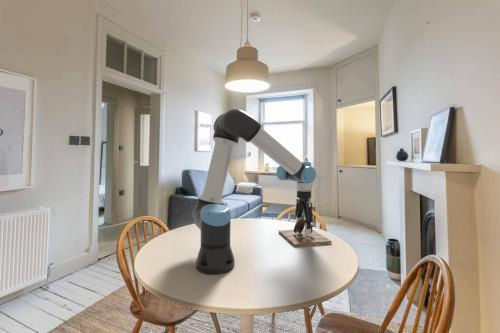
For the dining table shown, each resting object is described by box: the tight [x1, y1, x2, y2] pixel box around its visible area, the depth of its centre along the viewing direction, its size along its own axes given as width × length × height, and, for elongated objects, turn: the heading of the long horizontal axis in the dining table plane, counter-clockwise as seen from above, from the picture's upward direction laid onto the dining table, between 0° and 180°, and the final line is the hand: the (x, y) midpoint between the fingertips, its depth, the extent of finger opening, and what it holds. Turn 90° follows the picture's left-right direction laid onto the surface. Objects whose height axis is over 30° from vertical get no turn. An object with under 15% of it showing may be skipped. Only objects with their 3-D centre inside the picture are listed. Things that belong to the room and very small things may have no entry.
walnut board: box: [278, 228, 332, 248], centre depth 128 cm, size 22×20×2 cm
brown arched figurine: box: [292, 218, 314, 233], centre depth 127 cm, size 12×10×8 cm
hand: (303, 232), depth 128 cm, fingers closed on brown arched figurine, 9 cm apart
